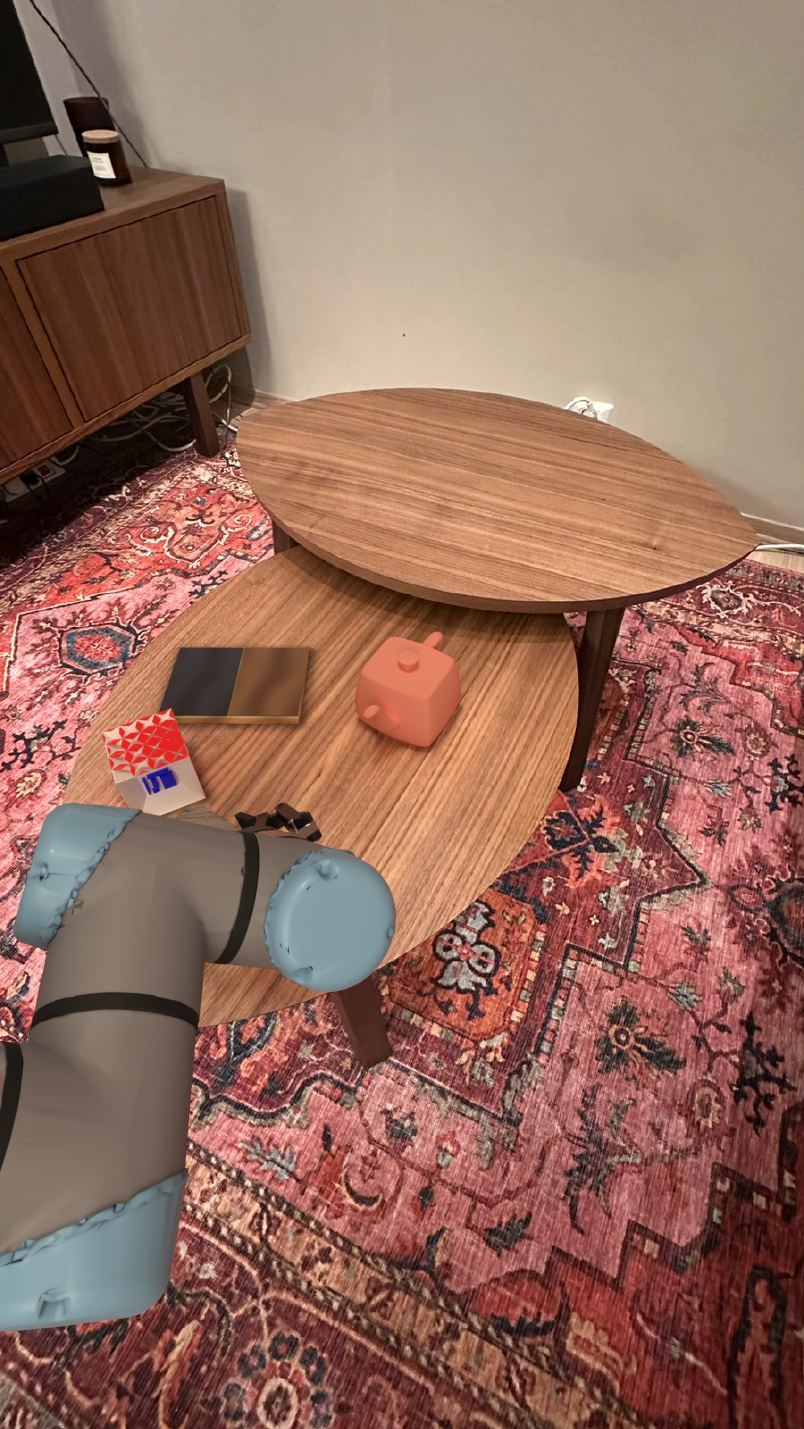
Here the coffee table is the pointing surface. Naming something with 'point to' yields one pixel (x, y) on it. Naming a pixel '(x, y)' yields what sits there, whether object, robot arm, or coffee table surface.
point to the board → (238, 685)
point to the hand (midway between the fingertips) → (210, 844)
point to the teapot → (409, 689)
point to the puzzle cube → (152, 764)
